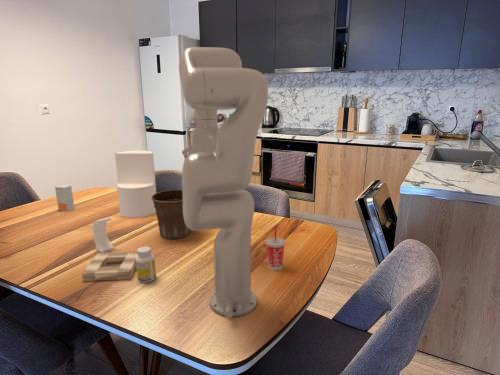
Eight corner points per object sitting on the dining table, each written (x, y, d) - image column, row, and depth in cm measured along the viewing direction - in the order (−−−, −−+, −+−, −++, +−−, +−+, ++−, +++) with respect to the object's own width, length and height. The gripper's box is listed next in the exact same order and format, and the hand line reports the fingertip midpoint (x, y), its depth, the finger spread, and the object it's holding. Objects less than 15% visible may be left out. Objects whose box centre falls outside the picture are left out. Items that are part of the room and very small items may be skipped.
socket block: (130, 279, 107) (129, 271, 106) (82, 281, 106) (81, 273, 105) (140, 258, 120) (140, 251, 119) (98, 259, 119) (97, 253, 118)
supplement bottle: (149, 272, 111) (146, 243, 108) (159, 277, 107) (157, 248, 105) (134, 279, 107) (131, 249, 104) (144, 285, 103) (141, 254, 101)
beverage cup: (264, 270, 111) (265, 229, 107) (266, 261, 117) (266, 222, 113) (284, 272, 110) (285, 230, 106) (285, 262, 116) (285, 223, 112)
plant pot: (183, 244, 131) (180, 203, 127) (146, 238, 136) (142, 199, 132) (202, 228, 146) (200, 191, 142) (168, 224, 151) (166, 188, 147)
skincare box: (58, 210, 170) (54, 186, 166) (65, 207, 174) (61, 184, 170) (68, 211, 168) (64, 187, 165) (75, 208, 172) (71, 185, 169)
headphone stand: (101, 253, 124) (97, 221, 121) (94, 248, 128) (90, 217, 125) (114, 248, 127) (110, 217, 124) (106, 244, 131) (103, 214, 128)
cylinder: (128, 205, 176) (122, 150, 169) (162, 205, 175) (157, 150, 168) (113, 217, 159) (106, 156, 152) (151, 217, 159) (145, 156, 151)
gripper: (178, 125, 114) (181, 177, 118) (232, 125, 114) (233, 176, 119) (182, 124, 121) (184, 172, 125) (232, 123, 122) (233, 171, 126)
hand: (208, 174), depth 122 cm, fingers open, 9 cm apart
